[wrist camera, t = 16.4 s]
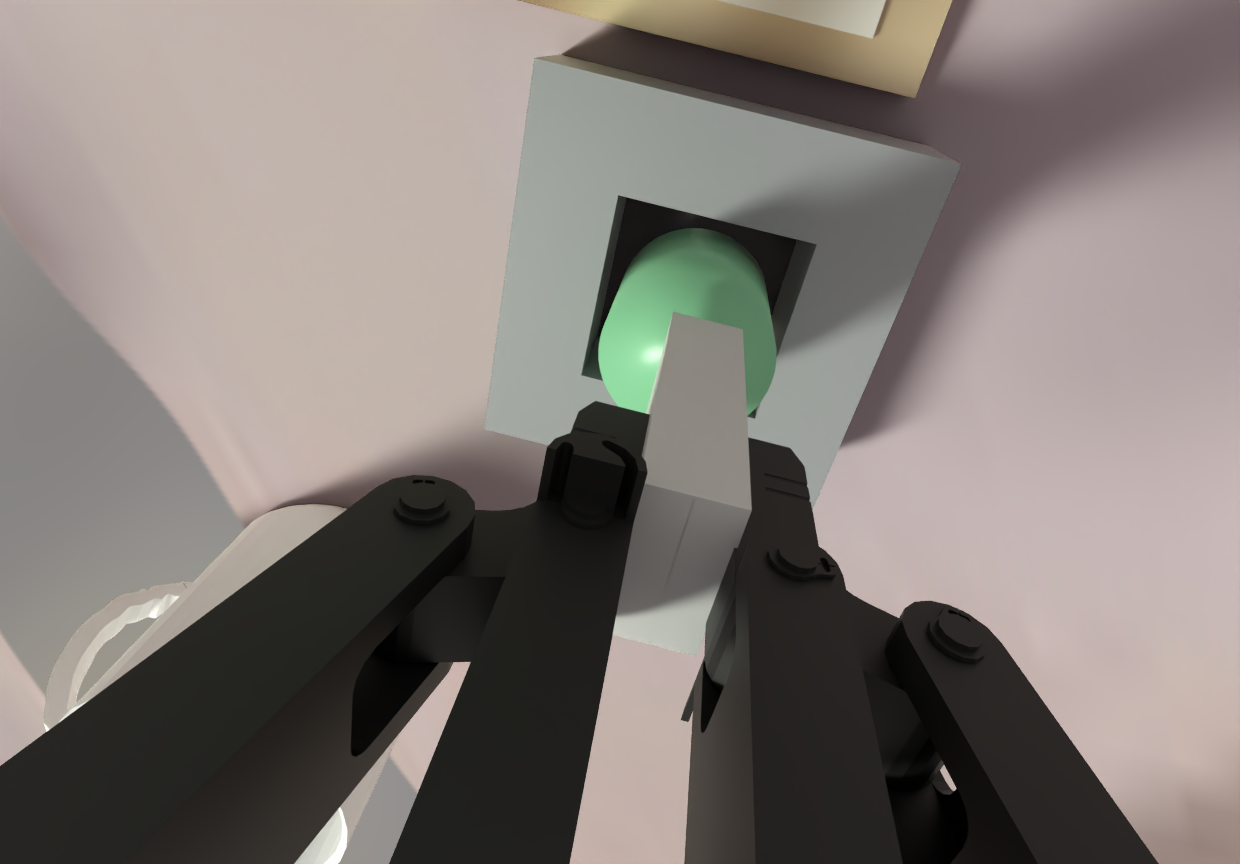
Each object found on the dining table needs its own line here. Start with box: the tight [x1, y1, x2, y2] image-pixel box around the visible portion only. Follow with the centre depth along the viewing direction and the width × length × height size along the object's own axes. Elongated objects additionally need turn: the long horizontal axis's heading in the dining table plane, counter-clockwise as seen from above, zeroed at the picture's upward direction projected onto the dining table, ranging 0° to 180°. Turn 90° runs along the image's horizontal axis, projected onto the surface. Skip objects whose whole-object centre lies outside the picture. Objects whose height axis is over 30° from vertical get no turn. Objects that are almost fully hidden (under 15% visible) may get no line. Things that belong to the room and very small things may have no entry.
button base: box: [484, 55, 962, 510], centre depth 20 cm, size 10×10×3 cm
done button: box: [598, 228, 776, 416], centre depth 18 cm, size 4×4×4 cm
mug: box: [43, 504, 399, 864], centre depth 25 cm, size 12×9×9 cm
